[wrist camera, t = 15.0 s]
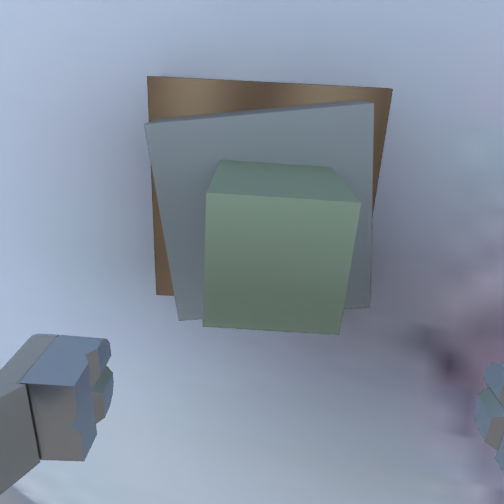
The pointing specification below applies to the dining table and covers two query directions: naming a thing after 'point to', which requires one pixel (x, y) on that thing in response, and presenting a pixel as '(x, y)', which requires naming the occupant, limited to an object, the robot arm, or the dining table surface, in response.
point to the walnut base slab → (239, 99)
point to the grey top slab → (256, 150)
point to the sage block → (277, 247)
